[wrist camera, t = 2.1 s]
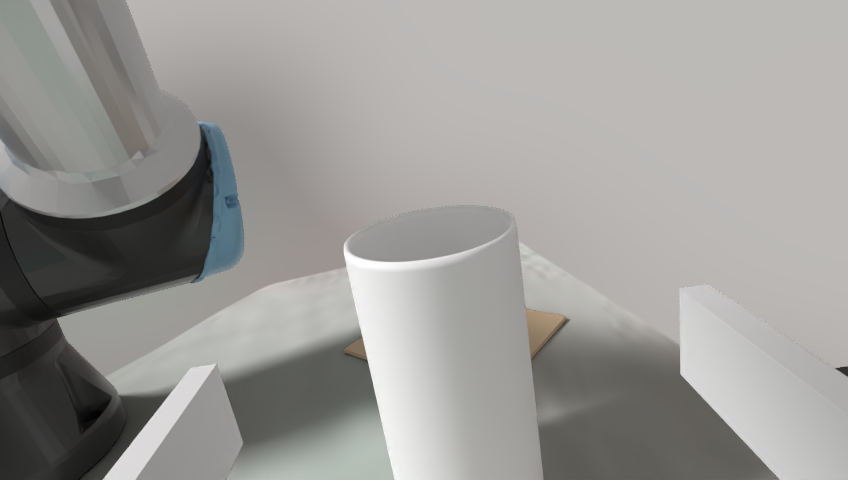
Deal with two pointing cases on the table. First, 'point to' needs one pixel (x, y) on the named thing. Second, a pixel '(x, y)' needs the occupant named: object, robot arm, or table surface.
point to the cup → (448, 343)
